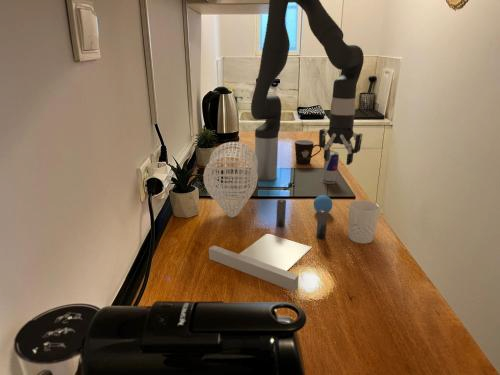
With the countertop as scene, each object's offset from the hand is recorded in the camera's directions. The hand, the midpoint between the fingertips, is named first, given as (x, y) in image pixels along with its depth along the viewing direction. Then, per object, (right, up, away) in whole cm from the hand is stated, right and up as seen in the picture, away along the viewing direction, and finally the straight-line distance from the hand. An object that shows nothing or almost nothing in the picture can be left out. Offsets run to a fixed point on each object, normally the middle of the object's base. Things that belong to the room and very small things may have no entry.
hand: (337, 162), depth 125 cm
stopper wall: (-29, -29, -35) cm, 54 cm away
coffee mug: (-3, +3, +50) cm, 50 cm away
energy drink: (+3, -6, +26) cm, 27 cm away
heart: (-35, -18, -6) cm, 39 cm away
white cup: (+2, -23, -18) cm, 29 cm away
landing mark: (-22, -25, -26) cm, 42 cm away
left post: (-20, -20, -11) cm, 30 cm away
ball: (-6, -14, -3) cm, 15 cm away
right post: (-9, -23, -18) cm, 30 cm away
